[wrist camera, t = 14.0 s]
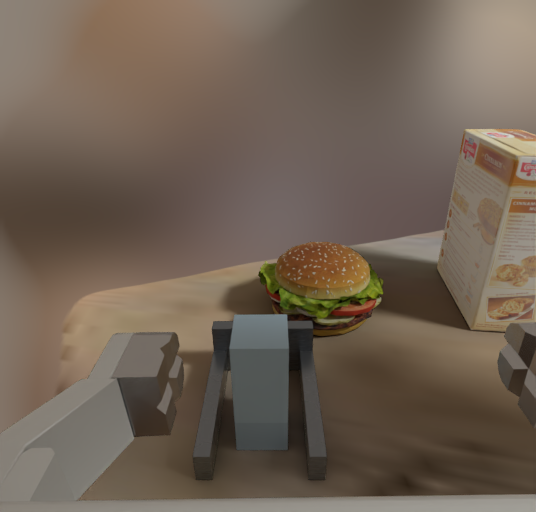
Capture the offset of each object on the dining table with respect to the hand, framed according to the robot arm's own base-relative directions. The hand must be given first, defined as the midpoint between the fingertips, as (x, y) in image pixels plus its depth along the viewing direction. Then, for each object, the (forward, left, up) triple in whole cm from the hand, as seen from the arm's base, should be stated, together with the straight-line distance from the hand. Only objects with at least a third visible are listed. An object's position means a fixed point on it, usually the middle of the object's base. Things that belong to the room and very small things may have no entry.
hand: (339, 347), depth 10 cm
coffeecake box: (-24, -35, -21) cm, 48 cm away
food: (-4, -34, -21) cm, 40 cm away
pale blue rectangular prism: (+3, -15, -21) cm, 26 cm away
